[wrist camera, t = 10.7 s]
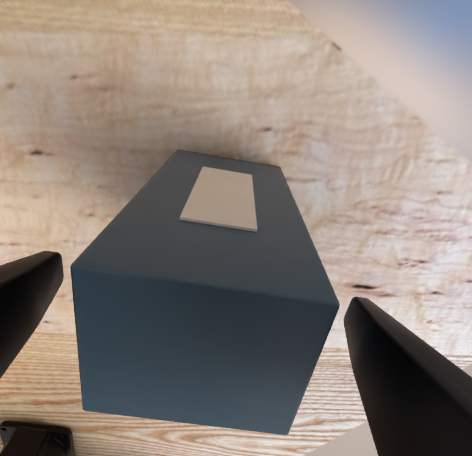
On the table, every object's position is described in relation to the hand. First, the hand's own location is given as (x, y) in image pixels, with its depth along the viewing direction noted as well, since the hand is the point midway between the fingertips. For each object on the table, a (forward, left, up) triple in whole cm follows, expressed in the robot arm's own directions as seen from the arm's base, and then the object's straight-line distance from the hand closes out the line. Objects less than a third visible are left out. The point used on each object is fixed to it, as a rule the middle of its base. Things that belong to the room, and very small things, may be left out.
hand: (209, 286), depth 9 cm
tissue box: (-3, 0, -4) cm, 5 cm away
